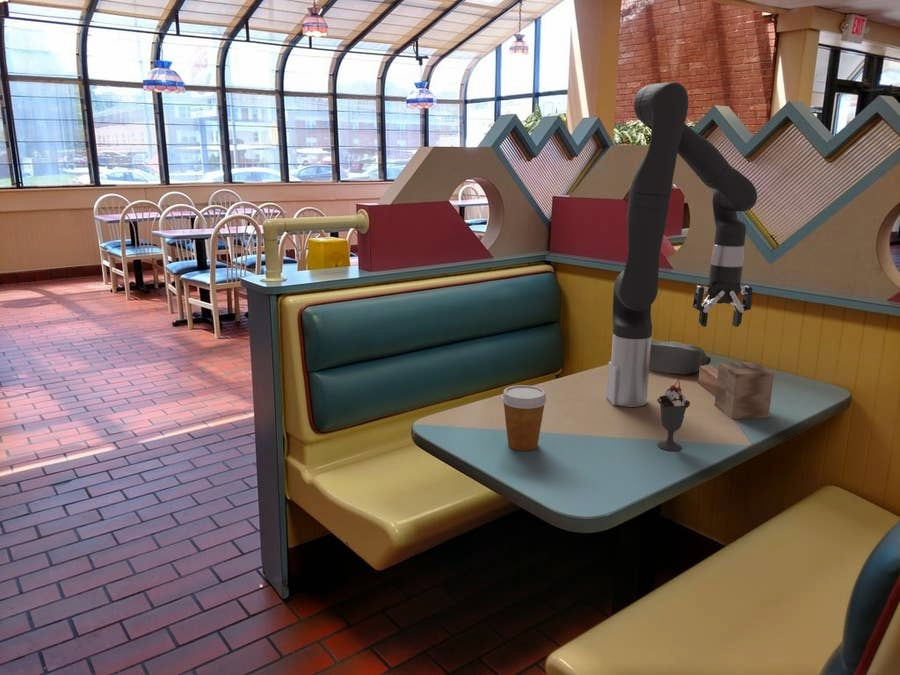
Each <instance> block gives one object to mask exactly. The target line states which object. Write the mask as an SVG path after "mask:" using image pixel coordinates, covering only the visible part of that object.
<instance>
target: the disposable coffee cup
mask: <svg viewBox="0 0 900 675" xmlns="http://www.w3.org/2000/svg"><path fill="white" fill-rule="evenodd" d="M501 399H502V400H501V401H502V402H503V410H504V418H505V427H506V428H505V429H506V438H507V445H508V448H511V449H512V450H516V451H520V452H521V451H522V452H523V451H525V452H526V451H532V450H535V449H536V448H538V447H539V446H538V445H539V439H540V433H541V427H542V421H543V417H544V416H543V414H544V408H545V404H546V403H547V401H548V397H547V395H546V392H545V390H544V389H543V388H540V387H539V386H534V385H533V386H532V385H526V384H525V385H522V384H520V385H512V386H511V385H510V386H508V387H506V388H504V390H503V393H502V394H501Z"/></svg>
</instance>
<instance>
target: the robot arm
mask: <svg viewBox="0 0 900 675" xmlns="http://www.w3.org/2000/svg"><path fill="white" fill-rule="evenodd" d="M688 110H689V95H688V92H687V90H686V88H685V86H683V85H682V84H681V83H680V82H674V81H671V82H669V81H668V82H660V83H659V82H657V83H652V84H647V85H645V86H643V87H641V88H640V90H639V91H638V92H637V93H636V95H635V97H634V100H633V111H634V113H635V116H636V118H637V119H638V120H639V121H640V122H641V123H642V124H643V125H645V127H646V128H648V129H649V130H651V134H650V138H649V139H650V141H649V146H648V148H647V151H646V154H645V156H644V157H643V159H642V162H641V164H639V166H638V169H637V170H636V172H635V174H634V176H633V179H632V181H631V185H630V188H629V195H628V202H627V210H626V223H627V225H626V226H627V227H626V228H627V231H626V232H627V256H626V262H625V266H624V270H622V271H621V272H620V273H619V274H618V275H617V276H616V278H615V281H614V286H613V293H612V294H613V295H612V296H613V298H612V342H611V343H612V346H611V359H610V361H608V365H607V377H606V378H607V380H606V381H607V382H606V395H605V396H606V399H607V400H608V401H609V402H610V404H611V405H612V406H618V407H627V408H635V407H642V406H644V405H646V404H647V400H648V390H649V389H648V388H649V387H648V386H649V377H650V376H649V374H650V368H649V364H650V351H651V340H652V339H653V338H652V334H653V324H652V323H653V322H652V314H651V312H652V305H653V304H654V302H655V301H656V300H657V297H658V290H659V272H660V271H659V270H660V269H659V268H660V267H659V266H660V254H661V249H662V245H663V240H664V235H665V229H666V225H667V220H668V214H669V210H670V203H671V197H672V191H673V190H672V188H673V181H674V174H675V168H676V162H677V158H678V155H679V156H680V158H682V160H683V161H684V162H685V163H686V164H687V165H688V166H689V168H690V169H691V170H692V172H694V174H695V175H696V176H697V177H698V178H699V179H700V181H701V182H702V183H703V184H704V185H705V186H706V187H708V188H710V189H714V191H713V194H712V200H711V201H712V211H713V212H712V213H713V217H714V218H713V219H714V223H715V234H714V241H713V248H712V252H711V257H710V268H709V277H708V280H709V281H708V285H707V286H704V285H703V286H702V285H700V284H696V286H695V289H694V296H693V300H692V301H693V302H692V308H693V309H695V310H697V311H698V312H699V316H698V323H699V324H700V326H701V327H703V328H706V327H707V326H708V325H707V324H708V318H709V316H708V315H709V313H708V312H709V310H710V309H711V308H712V307H714V306H715V305H716V304H719V305H720V304H731V305H732V307H733V309H734V311H733V316H732V322H731V323H732V324H731V325H732V326H733V327H736V328H739V327H740V325H741V324H742V320H743V313H744V312H745V311H750V310H751V309H752V299H753V287H752V286H749V285H746V284H745V285H743V286H741V282H742V276H743V268H744V260H745V241H746V233H747V226H746V223H744V222H743V221H741V220H739V218H738V214H737V212H739V213H740V212H747V211H749V210H751V209H753V208H754V206H755V205H756V203H757V201H758V192H757V189H756V186H755V185H754V184H753V182H752V181H751V180H750V179H749V178H748V177H746V176H745V175H744V174H743V173H741V172H740V171H739V170H738V169H736V168H734V166H732V165H730V163H729V162H728V160H727V159H726V158H725V156H724V155H723V154H722V153H721V151H720V150H718V148H717V147H716V146H715V145H714V144H713V143H711V142H710V141H709V140H707V139H706V138H705V137H703V136H702V135H701V134H699V133H697V132H696V131H695V130H694V129H692V127H691V126H689V125H688V124H686V120H687V116H688ZM706 292H707V293H708V295H707V296H706V298H705V299H704V296H705V294H706ZM739 294H741V295H742V297H741V298H742V301H740V299H739V298H738V295H739ZM703 300H704V301H703Z"/></svg>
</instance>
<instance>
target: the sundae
mask: <svg viewBox="0 0 900 675" xmlns="http://www.w3.org/2000/svg"><path fill="white" fill-rule="evenodd" d="M680 379H681V377H680V376H678V377H677V381H676V383H675V384H673V385H670V387H669V388H668V389H666V390H665V391H664V393H663V395H660V396H659V398H657V400H656V401H657V402H658V404H659V407H660V408H659V410H660V421H661V426H662V427H663V428H664V430H666V431H667V438H666V440H664V441H663V440H662V441H660V442H658V443H657V447H658V448H659V447H660V449H661V448H662V449H661V450H663V449H664V450H665V451H667V450H669V451H668V452H677V450H678V451H680V450H682V445H681V444H680V443H678V442H676V441H675V440H674V433H675V432H676V431H678V430H680V429H681V427H682V425H683V422H684V418H685V413H686V409H688V408H689V407H690V406H691V402H690V401H689V400H687V399H686V397H685V394H683V393H682V388H681V386H680V382H679V380H680ZM677 384H678V386H677V387H676V385H677Z"/></svg>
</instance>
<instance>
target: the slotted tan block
mask: <svg viewBox="0 0 900 675" xmlns="http://www.w3.org/2000/svg"><path fill="white" fill-rule="evenodd" d="M717 369H718V378H717V387H716V397H715V396H714V397H715V399H714V407H716V408H717V409H718V410H720V411H721V412H723V414H725V415H726V416H727V417H729V418H730V419H731V420H732V419H733V420H735V419H736V420H737V419H764V418H765V419H766V418H767V419H768V418H769V415H770V408H771V399H772V393H773V392H772V391H773V384H774V375H775V374H774V372H773V371H771V370H770V369H768V368H766V367H764V365H763V366H762V365H761V364H759V363H758V362H756V361H742V362H741V366H739V365H738V364H736V363H733V362H732V361H731V362H719V363H718V368H717Z"/></svg>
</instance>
